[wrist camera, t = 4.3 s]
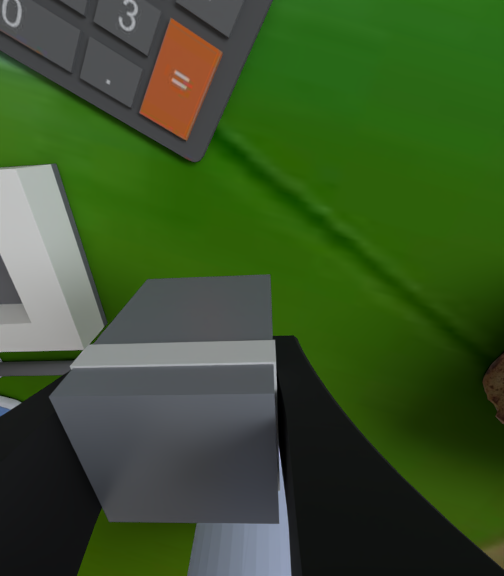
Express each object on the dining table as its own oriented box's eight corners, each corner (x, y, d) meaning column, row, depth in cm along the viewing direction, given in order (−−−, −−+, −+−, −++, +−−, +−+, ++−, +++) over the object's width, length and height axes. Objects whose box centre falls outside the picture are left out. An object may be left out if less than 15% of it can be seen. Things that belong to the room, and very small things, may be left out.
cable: (128, 368, 20) (123, 378, 19) (-18, 371, 21) (-29, 381, 20) (124, 354, 19) (118, 363, 19) (-26, 358, 20) (-38, 367, 19)
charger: (275, 373, 11) (281, 524, 7) (168, 374, 12) (107, 522, 7) (271, 272, 10) (277, 391, 5) (145, 277, 10) (45, 394, 5)
